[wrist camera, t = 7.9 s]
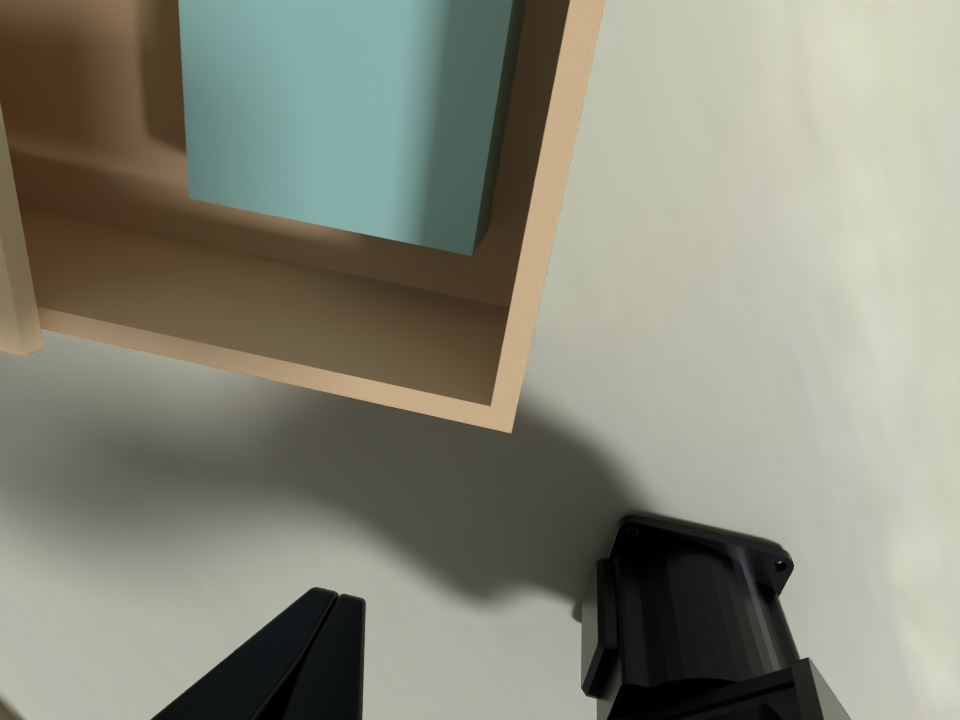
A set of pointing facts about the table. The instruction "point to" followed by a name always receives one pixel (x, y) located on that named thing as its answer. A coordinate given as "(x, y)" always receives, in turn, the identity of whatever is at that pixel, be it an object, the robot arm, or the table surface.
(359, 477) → the table surface
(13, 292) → the mailer lid
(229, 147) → the mailer box
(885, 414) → the table surface
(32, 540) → the table surface
